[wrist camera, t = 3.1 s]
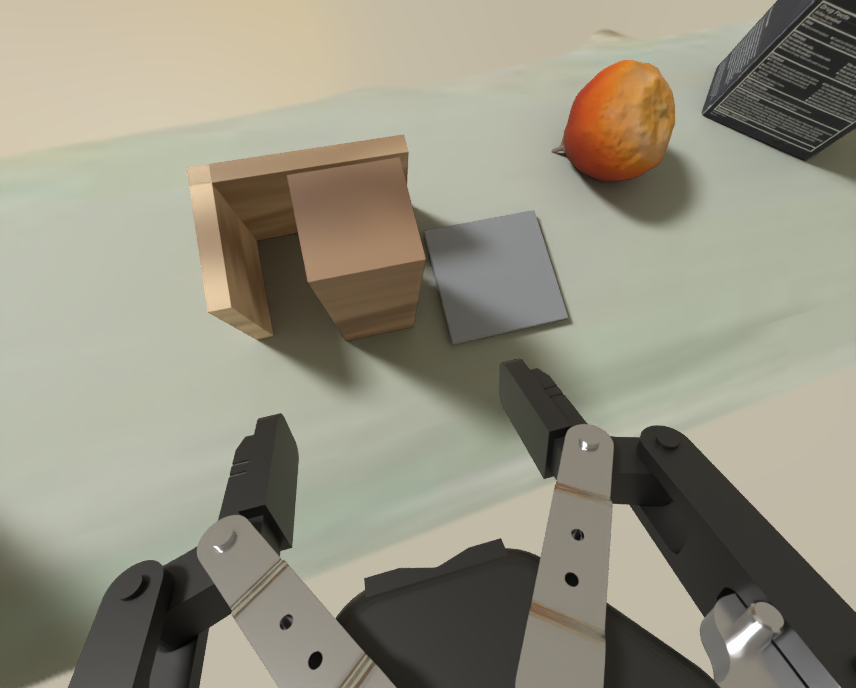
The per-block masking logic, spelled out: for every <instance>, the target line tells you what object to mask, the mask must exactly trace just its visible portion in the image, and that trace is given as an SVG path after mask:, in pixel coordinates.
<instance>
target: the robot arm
mask: <svg viewBox="0 0 856 688" xmlns="http://www.w3.org/2000/svg"><path fill="white" fill-rule="evenodd" d="M500 398H501V402H502V405H503V408H504V410H505V412H506V413H507V415H508V417H509V419H510V420H511V422H512V424H513V426H514V427H515V429H516V431H517V433H518V434H519V436H520V438H521V440H522V441H523V443H524V445H525V447H526V449H527V450H528V452H529V454H530V456H531V457H532V459H533V461H534V463H535V464H536V466H537V468H538V470H539V471H540V473H541V475H542V477H543V478H544V479H546V478H550V477H553V476H554V477H555V479H556V480H557V481H556V484H555V488H554V494H553V499H552V503H551V509H550V513H549V518H548V523H547V528H546V533H545V538H544V543H543V548H542V553H541V557H539V556H537V555H535V554H532V553H530V552H527V551H523V550H519V549H509V548H505V547H504V545H503V542H502V539H497V540H494V541H490V542H487V543H483V544H480V545H476V546H473V547H470V548H468V549H466V550H464V551H463V552H461V553H460V554H458V555H457V556H455V557H453V558H452V559H450V560H448V561H447V562H445V563H444V564H442V565H440V566H438V567H436V568H398V569H395V570H391V571H388V572H384V573H381V574H378V575H374V576H371V577H368V578H365V579H364V580H365V590H364V591H363V592H361V593H360V594H358V595H357V596H356V597H354V598H353V599H352V600H351V601H350V602H349V603H348V604H347V605H346V606H345V607H344V608H343V609H342V611H341V612H340V613H339V614H338V615H337V617H336V618H334V617H333V616H332V614H331V613H330V612H329V611H328V610H327V609H326V607H325V606H324V605H323V604H322V603H321V602H320V601H319V599H318V598H317V597H316V596H315V595H314V594H313V592H312V591H311V590H310V589H309V588H308V587H307V586H306V584H305V583H304V582H303V581H302V580H301V579H300V577H299V576H298V575H297V574H296V573H295V572H294V570H293V569H292V568H291V567H290V566H289V565H288V564H287V563H286V562H285V561H283V560H282V559H281V558H280V551H282V550H285V549H289V548H292V542H293V529H294V515H295V502H296V488H297V475H298V461H299V456H298V448H297V445H296V442H295V440H294V437H293V435H292V433H291V431H290V429H289V427H288V424H287V422H286V420H285V418H284V416H283V415H282V414H281V413H280V414H276V415H271V416H267V417H263V418H259V419H258V420H257V424H256V429H255V433H254V435H252V436H247V437H245V438H244V439H243V441H242V442H241V444H240V445H239V446H238V448H237V449H236V452H235V456H234V459H233V463H232V464H233V466H232V467H231V471H230V477H229V479H228V483H227V487H226V491H225V495H224V499H223V503H222V507H221V511H220V515H219V519H218V521H217V522H216V523H214V524H213V525H212V526H211V527H210V528H209V529H208V530H207V531H206V532H205V533H204V535H203V536H202V538H201V539H200V541H199V544H198V546H197V547H196V548H194V549H192V550H191V551H189V552H187V553H186V554H184V555H182V556H180V557H178V558H177V559H175V560H173V561H171V562H169V563H168V564H166V565H164V566H162V565H161V564H160V563H159V562H157V561H154V560H147V561H143V562H140V563H137V564H135V565H133V566H131V567H130V568H128V569H127V570H126V571H124V572H123V573H122V574H121V575H119V576H118V577H117V578H116V579H115V581H114V582H113V583H112V584H111V585H110V587H109V588H108V589H107V591H106V593H105V595H104V597H103V599H102V602H101V604H100V607H99V609H98V612H97V614H96V617H95V620H94V622H93V625H92V627H91V630H90V632H89V635H88V638H87V640H86V643H85V645H84V648H83V650H82V653H81V656H80V658H79V661H78V663H77V666H76V668H75V671H74V674H73V676H72V679H71V681H70V684H69V686H68V688H199V685H200V679H201V673H202V667H203V661H204V655H205V649H206V643H207V637H208V631H209V627H211V626H213V625H214V624H216V623H217V622H219V621H220V620H222V619H223V618H225V617H227V616H228V615H230V614H232V616H233V618H234V619H235V621H236V623H237V624H238V626H239V627H240V629H241V630H242V632H243V633H244V635H245V636H246V638H247V640H248V641H249V643H250V644H251V646H252V647H253V649H254V650H255V652H256V653H257V655H258V656H259V658H260V660H261V661H262V663H263V664H264V666H265V667H266V669H267V670H268V672H269V673H270V675H271V677H272V678H273V679H274V681H275V683H276V684H277V686H278V687H279V688H856V612H855V611H854V610H853V609H852V608H851V607H850V606H849V605H848V604H847V603H846V602H845V601H844V600H843V599H842V598H841V597H840V596H839V595H838V594H837V593H836V592H835V591H834V589H833V588H831V586H830V585H829V584H828V583H827V582H826V581H825V580H824V579H823V578H822V577H821V576H820V575H819V574H818V573H817V572H816V571H815V570H814V569H813V568H812V567H811V566H810V565H809V563H808V562H807V561H805V559H804V558H803V557H802V556H801V555H800V554H799V553H798V552H797V551H796V550H795V549H794V548H793V547H792V546H791V545H790V544H789V543H788V542H787V541H786V540H785V539H784V538H783V536H782V535H781V534H780V533H779V532H778V531H776V530H775V528H774V527H773V526H772V525H771V524H770V523H769V522H768V521H767V520H766V519H765V518H764V517H763V516H762V515H761V514H760V513H759V512H758V511H757V509H756V508H755V507H754V506H753V505H752V504H751V503H750V502H749V501H748V500H747V499H746V498H745V497H744V496H743V495H742V494H741V493H740V492H739V491H738V490H737V489H736V488H735V487H734V486H733V485H732V484H731V483H730V482H729V480H728V479H727V478H726V477H725V476H724V475H723V474H722V473H721V472H720V471H719V470H718V469H717V468H716V467H715V466H714V465H713V464H712V463H711V462H710V461H709V460H708V459H707V458H706V457H705V456H704V454H702V453H701V451H700V450H699V449H698V448H697V447H696V446H695V445H694V444H693V443H692V442H691V441H690V440H689V439H688V438H687V437H686V436H685V435H683V434H682V433H681V432H679V431H677V430H675V429H673V428H670V427H666V426H650V427H647V428H645V429H644V430H643V431H642V433H641V436H640V437H613V436H609V435H608V434H607V433H606V432H605V431H604V430H602V429H600V428H598V427H596V426H593V425H588V424H587V423H586V421H585V420H584V419H583V418H582V416H581V415H580V414H579V413H578V411H577V410H576V409H575V408H574V406H573V405H572V404H571V403H570V401H569V400H568V399H567V398H566V396H565V395H563V393H562V391H561V390H560V389H559V388H558V387H557V385H556V384H555V382H554V381H553V380H552V379H551V377H550V376H549V375H547V374H546V373H544V372H542V371H541V370H539V369H532V370H530V369H529V368H528V367H527V365H526V364H525V363H524V361H523V360H522V359H515V360H511V361H506V362H502V363H501V364H500ZM612 504H629V505H630V506H631V508H632V509H633V511H634V512H635V514H636V515H637V517H638V518H639V520H640V521H641V523H642V524H643V526H644V527H645V529H646V530H647V532H648V533H649V535H650V536H651V538H652V539H653V541H654V542H655V544H656V545H657V547H658V548H659V550H660V551H661V553H662V554H663V556H664V557H665V559H666V560H667V562H668V563H669V565H670V566H671V568H672V569H673V571H674V572H675V574H676V575H677V577H678V578H679V580H680V581H681V583H682V584H683V586H684V587H685V589H686V590H687V592H688V593H689V595H690V596H691V598H692V599H693V601H694V602H695V604H696V605H697V607H698V608H699V610H700V611H701V613H702V614H703V616H704V617H705V619H704V620H703V621H702V623H701V627H700V636H701V641H702V644H703V646H704V648H705V651H706V652H707V655H708V656H709V659H710V661H711V664H712V668H713V672H714V680H713V679H712V678H711V677H710V676H709V675H708V674H707V673H705V672H704V671H703V670H702V669H701V668H700V667H698V666H697V665H695V664H694V663H692V662H691V661H690V660H688V659H687V658H685V657H684V656H683V655H681V654H680V653H678V652H677V651H675V650H674V649H673V648H671V647H670V646H668V645H667V644H665V643H664V642H663V641H661V640H660V639H658V638H657V637H655V636H654V635H652V634H651V633H649V632H648V631H647V630H645V629H644V628H642V627H641V626H640V625H638V624H637V623H635V622H634V621H632V620H631V619H630V618H628V617H627V616H625V615H624V614H622V613H621V612H619V611H618V610H617V609H615V608H614V607H612V606H611V605H609V604H608V603H607V602H606V600H607V585H608V570H609V554H610V553H609V552H610V538H611V523H612Z"/></svg>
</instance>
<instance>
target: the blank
mask: <svg viewBox="0 0 856 688" xmlns="http://www.w3.org/2000/svg"><path fill="white" fill-rule="evenodd" d="M287 179H288V184H289V189H290V194H291V199H292V204H293V209H294V214H295V219H296V225H297V230H298V235H299V240H300V245H301V250H302V255H303V260H304V265H305V271H306V276H307V281H308V283H309V285H310V286H311V288H312V289H313V291H314V293H315V294H316V296H317V297H318V299H319V300H320V302H321V303H322V305H323V306H324V308H325V309H326V311H327V313H328V314H329V316H330V317H331V319H332V320H333V322H334V323H335V325H336V326H337V328H338V329H339V331H340V333H341V334H342V336H343V337H344V339H345V340H346V341H350V340H354V339H359V338H364V337H368V336H373V335H377V334H382V333H387V332H391V331H396V330H400V329H405V328H410V327H413V326H414V321H415V315H416V310H417V304H418V299H419V293H420V288H421V282H422V277H423V271H424V266H425V261H426V258H425V254H424V250H423V247H422V243H421V239H420V235H419V231H418V227H417V223H416V219H415V215H414V212H413V208H412V204H411V200H410V196H409V192H408V188H407V184H406V180H405V176H404V173H403V169H402V165H401V161H400V157H398V158H392V159H385V160H379V161H373V162H367V163H360V164H354V165H348V166H341V167H335V168H329V169H323V170H316V171H310V172H304V173H297V174H291V175H287Z"/></svg>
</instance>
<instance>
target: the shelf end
mask: <svg viewBox="0 0 856 688" xmlns="http://www.w3.org/2000/svg"><path fill="white" fill-rule="evenodd" d="M398 157H400V161H401V165H402V169H403V173H404V176H405V180H406V184H407V173H408V148H407V144H406V140H405V137H404V135H398V136H391V137H384V138H378V139H371V140H365V141H358V142H351V143H345V144H338V145H332V146H325V147H318V148H312V149H305V150H299V151H292V152H285V153H279V154H272V155H265V156H259V157H252V158H246V159H239V160H232V161H226V162H219V163H213V164H206V165H199V166H193V167H187V173H188V180H189V187H190V193H191V200H192V207H193V214H194V221H195V228H196V235H197V242H198V249H199V256H200V263H201V269H202V276H203V283H204V290H205V297H206V304H207V311H208V313H210V314H212V315H214V316H215V317H217V318H219V319H221V320H222V321H224V322H226V323H228V324H230V325H231V326H233V327H235V328H237V329H238V330H240V331H242V332H244V333H245V334H247V335H249V336H251V337H253V338H254V339H256V340H257V339H261V338H266V337H271V336H273V330H272V325H271V319H270V313H269V307H268V302H267V296H266V290H265V284H264V279H263V273H262V267H261V262H260V256H259V250H258V244H257V240H261V239H267V238H272V237H278V236H284V235H289V234H295V233H298V230H297V225H296V219H295V214H294V209H293V204H292V199H291V194H290V189H289V184H288V179H287V175H291V174H297V173H304V172H310V171H316V170H323V169H329V168H335V167H341V166H348V165H354V164H360V163H367V162H373V161H379V160H385V159H392V158H398Z"/></svg>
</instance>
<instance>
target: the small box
mask: <svg viewBox="0 0 856 688" xmlns="http://www.w3.org/2000/svg"><path fill="white" fill-rule="evenodd" d="M702 115H704V116H706V117H708V118H710V119H713V120H715V121H717V122H719V123H722V124H724V125H726V126H728V127H731V128H733V129H735V130H738V131H740V132H742V133H744V134H747V135H749V136H751V137H753V138H756V139H758V140H760V141H762V142H765V143H767V144H769V145H772V146H774V147H776V148H778V149H781V150H783V151H785V152H787V153H790V154H792V155H794V156H796V157H799V158H801V159H803V160H809V159H811V158H813V157H814V156H815V155H817V154H818V153H819V152H820V151H822V150H823V149H825V148H826V147H828V146H829V145H831V144H832V143H834V142H835V141H837V140H838V139H840V138H841V137H843V136H844V135H846V134H847V133H849V132H851V131H852V130H854V129H855V128H856V0H777V1H776V3H775V4H774V5H773V6H772V7H771V8H770V9H769V10H768V12H766V14H765V15H764V16H763V17H762V18H761V19H760V20H759V21H758V22H757V23H756V25H755V26H754V27H753V28H752V29H751V30H750V31H749V32H748V34H747V35H746V36H745V37H744V38H743V39H742V40H741V41H740V42H739V44H738V45H737V46H736V47H735V48H734V49H733V50H732V51H731V53H730V54H729V55H728V56H727V57H726V58H725V59H724V60H723V61H722V62H721V63H720V64H719V65H718V67H717V69H716V72H715V74H714V77H713V80H712V83H711V86H710V89H709V92H708V95H707V98H706V101H705V104H704V107H703V110H702Z"/></svg>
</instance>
